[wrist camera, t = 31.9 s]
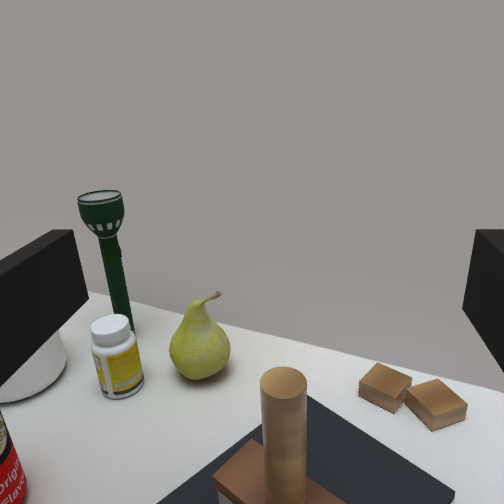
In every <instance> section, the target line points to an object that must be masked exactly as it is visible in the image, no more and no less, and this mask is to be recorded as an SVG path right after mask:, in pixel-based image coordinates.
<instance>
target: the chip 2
mask: <svg viewBox="0 0 504 504" xmlns="http://www.w3.org/2000/svg"><path fill="white" fill-rule="evenodd" d="M405 404H406V405H407V406H408V407H409V408H410V409H411V410H412V411H413V412H414V413H415V414H416V416H417V417H418V418H419V419H420V420H421V421H422V422H423V423H424V424H425V425H426V426H427V427H428V428H429V429H430V430H431V431H434V430H437V429H440V428H442V427H445V426H448V425H451V424H454V423H456V422H459V421H462V420H464V419H465V416H466V411H467V406H468V404H467V403H466V402H465V401H464V400H462V399H461V398H460V397H459V396H458V395H457V394H455V393H454V392H453V391H452V390H451V389H450V388H448V387H447V386H446V385H445V384H444V383H443V382H442V381H440V380H439V379H435V380H432V381H429V382H425V383H422V384H419V385H416V386H413V387H410V388H407V389H406V397H405Z"/></svg>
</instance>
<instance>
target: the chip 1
mask: <svg viewBox="0 0 504 504" xmlns="http://www.w3.org/2000/svg"><path fill="white" fill-rule="evenodd" d="M411 383H412V377H410V376H407V375H405V374H403V373H400V372H398V371H396V370H393V369H391V368H389V367H387V366H384V365H382V364H380V363H376V364H375V365H374V366H373V367H372V368H371V370H370V371H369V372H368V373H367V374H366V375H365V376H364V377H363V378H362V379H361V380H360V381H359V396H360V397H362V398H364V399H366V400H368V401H370V402H372V403H374V404H376V405H378V406H380V407H382V408H384V409H386V410H388V411H390V412H392V413H395V411H396V410H397V409H398V408H399V406H400V405H401V404H402V402H403V401H404V400H405V397H406V389H407V388H410V387H411Z"/></svg>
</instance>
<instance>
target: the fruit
mask: <svg viewBox="0 0 504 504" xmlns="http://www.w3.org/2000/svg"><path fill="white" fill-rule="evenodd" d="M220 295H221V293H220V292H219V291H217V292H216V293H215V294H213V295H212V296H210V297H207V298H204V299H202V300H200V299H197V300H195V301H193V302H192V303H191V304H190V305H189V306H188V307H187V310H186V312H185V315H184V318H183V320H182V323H181V325H180V326H179V328H178V329H177V331H176V332H175V333H174V335H173V337H172V339H171V342H170V347H169V352H170V357H171V359H172V361H173V363H174V365H175V366H176V367H177V369H178V370H179V371H180V372H181V373H182V374H183V375H184V376H185V377H187V378H189V379H193V380H199V379H203V378H206V377H209V376H211V375H213V374H215V373H217V372H218V371H220V370H221V369H222V368H223V367H224V366H225V364H226V363H227V361H228V359H229V356H230V343H229V340H228V337H227V335H226V333H225V332H224V330H223V329H222V328H221V327H220V326H219V325H218V324H216V323H215V322H214V321H213V320H211V319H210V317H209V315H208V313H207V310H206V308H205V304H204V303H205V302H207V301H209V300H211V299H215V298H217V297H219V296H220Z"/></svg>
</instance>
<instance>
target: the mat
mask: <svg viewBox="0 0 504 504" xmlns="http://www.w3.org/2000/svg"><path fill="white" fill-rule="evenodd" d="M250 439H253V440H254V441H256V442H257V443H259V444H260V445H262V446H263V431H262V424H261V425H259V426H258V427H257V428H255V429H254V430H253V431H251V432H250V433H249V434H247V435H246V436H245V437H243V438H242V439H241V440H240V441H238V442H237V443H236V444H234V445H233V446H232V447H230V448H229V449H228V450H226V451H225V452H224V453H222V454H221V455H220V456H219V457H217V458H216V459H215V460H213V461H212V462H211V463H209V464H208V465H207V466H205V467H204V468H203V469H202V470H200V471H199V472H198V473H196V474H195V475H194V476H192V477H191V478H190V479H188V480H187V481H186V482H184V483H183V484H182V485H181V486H179V487H178V488H177V489H175V490H174V491H173V492H171V493H170V494H169V495H167V496H166V497H165V498H163V499H162V500H161V501H160V502H158V503H157V504H219V497H218V490H217V489H216V488H214V487H213V479H212V475H213V474H214V473H215V472H216V471H217V470H219V469H220V468H221V467H222V466H223V465H224V464H225V463H226V462H227V461H228V460H229V459H230V458H231V457H232V456H233V455H234V454H235V453H236V452H238V451H239V450H240V449H241V448H242V447H243V446H244V445H245V444H246V443H247V442H248V441H249V440H250ZM306 476H307V477H308V478H310V479H311V480H313V481H314V482H316V483H317V484H319V485H320V486H321V487H323V488H324V489H326V490H327V491H329V492H330V493H332V494H333V495H335V496H336V497H338V498H339V499H340V500H342V501H343V502H345V503H346V504H450V503H451V502H452V500H453V499H454V495H455V491H454V490H452V489H451V488H449V487H448V486H446V485H445V484H443V483H442V482H440V481H439V480H437V479H436V478H434V477H432V476H431V475H429V474H428V473H426V472H425V471H423V470H422V469H420V468H419V467H417V466H416V465H414V464H412V463H411V462H409V461H408V460H406V459H405V458H403V457H402V456H400V455H399V454H397V453H396V452H394V451H393V450H391V449H389V448H388V447H386V446H385V445H383V444H382V443H380V442H379V441H377V440H376V439H374V438H373V437H371V436H370V435H368V434H366V433H365V432H363V431H362V430H360V429H359V428H357V427H356V426H354V425H353V424H351V423H350V422H348V421H346V420H345V419H343V418H342V417H340V416H339V415H337V414H336V413H334V412H333V411H331V410H330V409H328V408H327V407H325V406H323V405H322V404H320V403H319V402H317V401H316V400H314V399H313V398H311V397H310V396H308V395H307V446H306Z"/></svg>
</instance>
